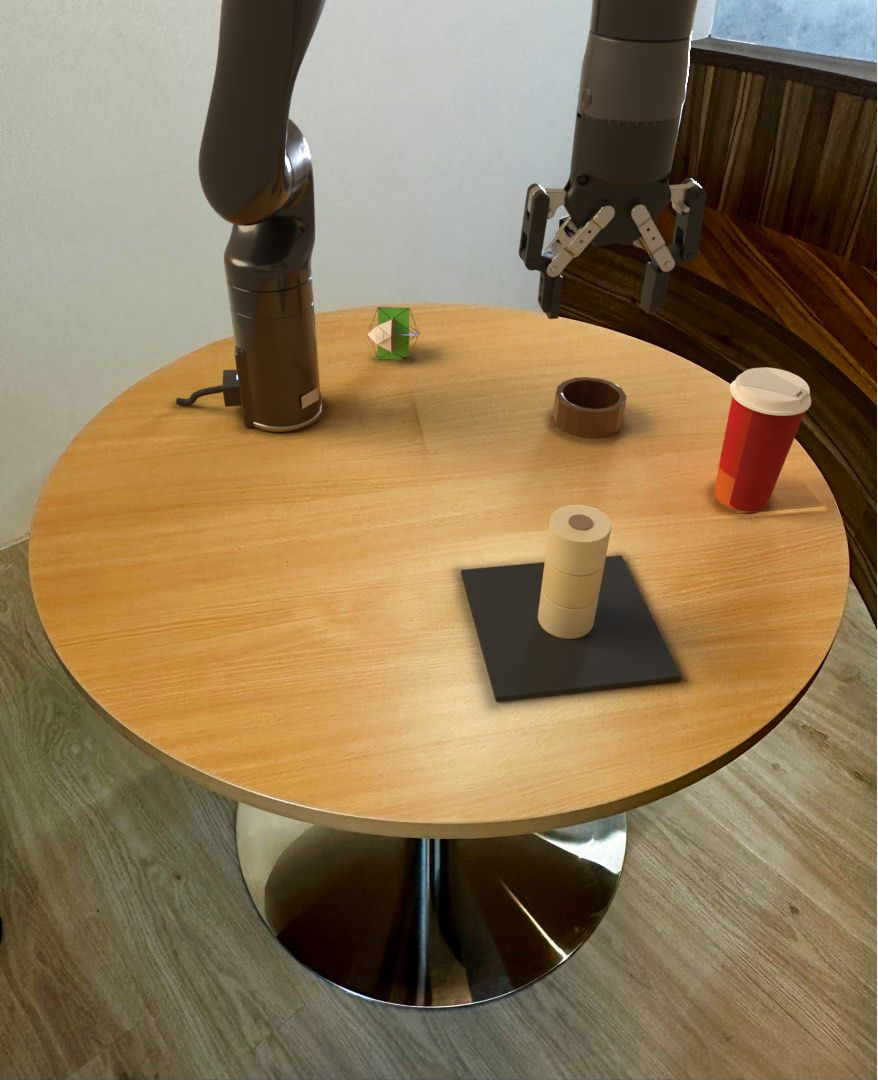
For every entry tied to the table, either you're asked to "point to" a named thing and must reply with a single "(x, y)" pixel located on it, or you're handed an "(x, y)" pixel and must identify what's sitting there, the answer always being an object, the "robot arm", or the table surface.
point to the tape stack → (573, 570)
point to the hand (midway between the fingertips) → (599, 312)
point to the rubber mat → (557, 663)
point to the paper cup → (759, 435)
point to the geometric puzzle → (392, 333)
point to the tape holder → (589, 407)
